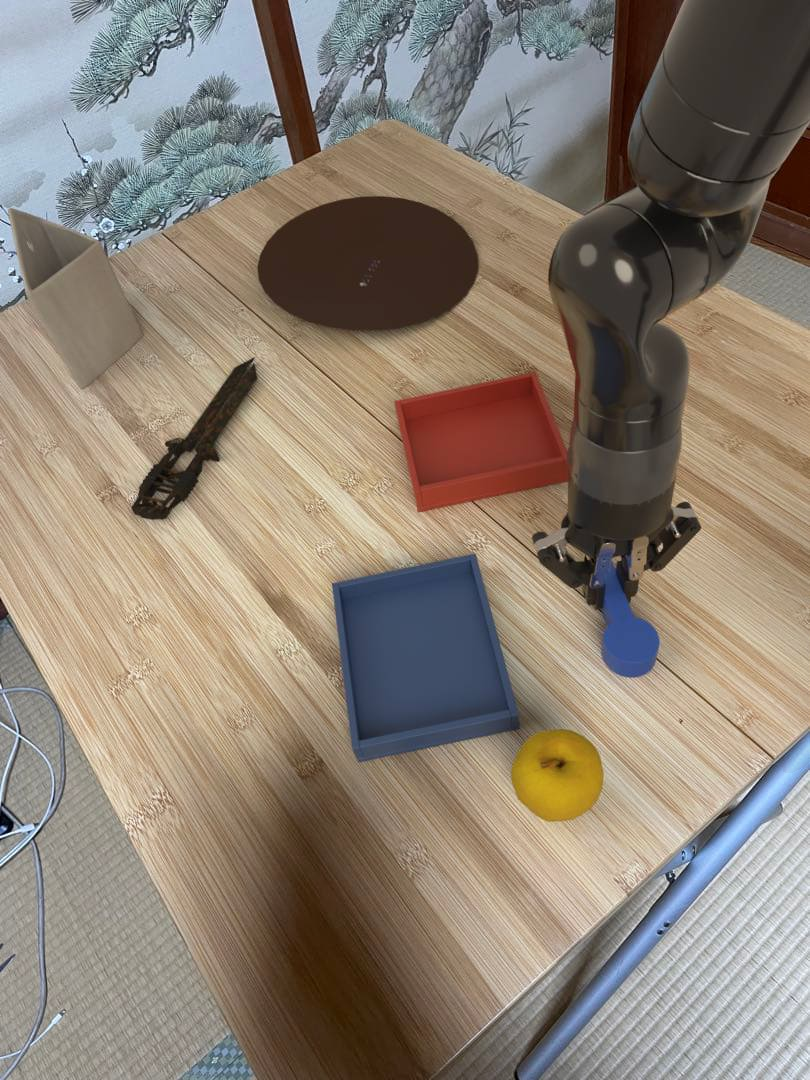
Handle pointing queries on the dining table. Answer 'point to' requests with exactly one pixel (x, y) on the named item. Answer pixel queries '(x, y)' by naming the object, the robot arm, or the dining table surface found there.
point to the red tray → (481, 441)
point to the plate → (368, 264)
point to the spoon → (626, 634)
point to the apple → (557, 775)
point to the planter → (74, 295)
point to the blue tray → (421, 659)
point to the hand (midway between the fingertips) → (609, 597)
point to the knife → (187, 445)
